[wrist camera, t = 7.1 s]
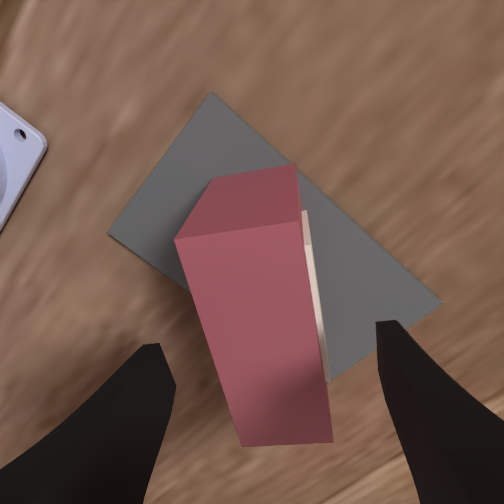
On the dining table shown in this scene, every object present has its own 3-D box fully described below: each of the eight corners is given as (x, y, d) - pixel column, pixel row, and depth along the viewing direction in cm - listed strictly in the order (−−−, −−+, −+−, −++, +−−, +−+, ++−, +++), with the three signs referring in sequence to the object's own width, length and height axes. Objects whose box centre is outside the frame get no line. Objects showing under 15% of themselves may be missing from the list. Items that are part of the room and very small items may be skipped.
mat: (110, 229, 18) (107, 232, 17) (212, 91, 14) (210, 92, 14) (319, 382, 21) (319, 388, 21) (439, 298, 18) (442, 303, 18)
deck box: (254, 341, 20) (241, 447, 14) (212, 177, 16) (173, 239, 10) (325, 334, 19) (339, 441, 14) (300, 162, 15) (306, 219, 10)
